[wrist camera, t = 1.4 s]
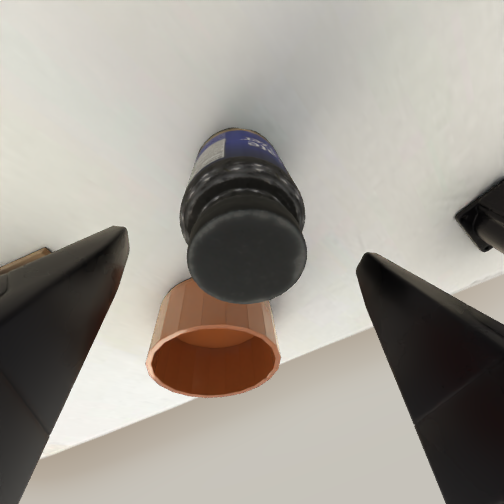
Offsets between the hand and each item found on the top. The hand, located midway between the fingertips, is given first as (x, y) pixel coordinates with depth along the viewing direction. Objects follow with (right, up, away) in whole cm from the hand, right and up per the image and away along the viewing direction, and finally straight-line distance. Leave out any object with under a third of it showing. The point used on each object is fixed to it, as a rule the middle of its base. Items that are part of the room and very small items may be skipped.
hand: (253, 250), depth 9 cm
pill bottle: (-1, +6, +9) cm, 11 cm away
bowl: (-4, -7, +18) cm, 20 cm away
